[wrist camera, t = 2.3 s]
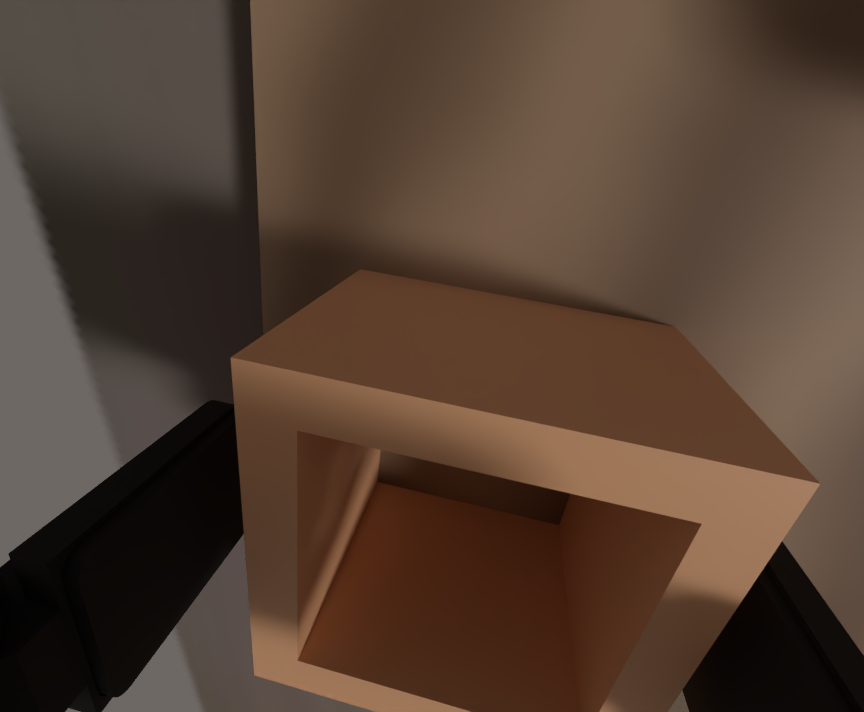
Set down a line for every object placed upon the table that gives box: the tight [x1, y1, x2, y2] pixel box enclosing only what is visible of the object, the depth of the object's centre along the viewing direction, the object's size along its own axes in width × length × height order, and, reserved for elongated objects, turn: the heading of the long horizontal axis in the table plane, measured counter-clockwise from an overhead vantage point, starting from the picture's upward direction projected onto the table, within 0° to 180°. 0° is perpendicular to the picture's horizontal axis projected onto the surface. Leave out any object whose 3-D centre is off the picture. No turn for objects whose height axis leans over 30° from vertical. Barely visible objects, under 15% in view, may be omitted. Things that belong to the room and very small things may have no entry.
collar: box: [231, 269, 820, 712], centre depth 9 cm, size 7×7×5 cm
